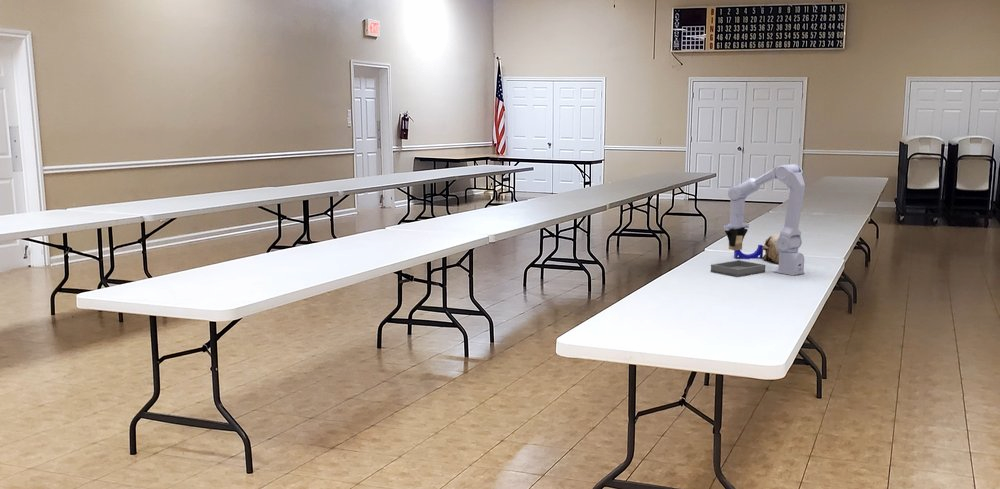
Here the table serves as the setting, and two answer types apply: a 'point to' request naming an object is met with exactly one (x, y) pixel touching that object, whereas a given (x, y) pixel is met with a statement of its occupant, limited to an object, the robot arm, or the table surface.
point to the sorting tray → (738, 268)
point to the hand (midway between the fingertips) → (735, 245)
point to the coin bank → (771, 248)
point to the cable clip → (740, 255)
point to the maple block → (737, 243)
